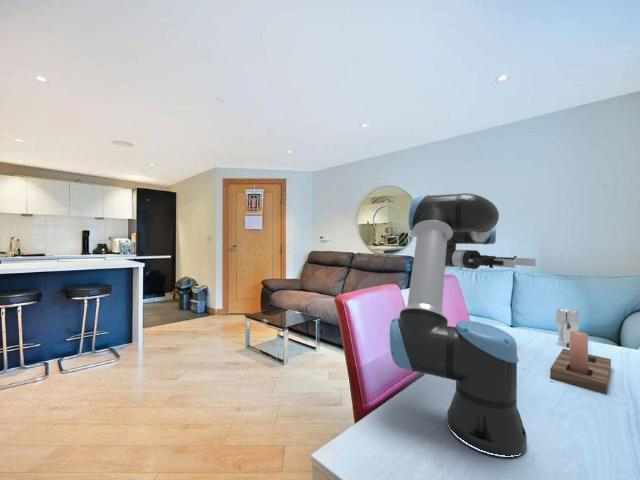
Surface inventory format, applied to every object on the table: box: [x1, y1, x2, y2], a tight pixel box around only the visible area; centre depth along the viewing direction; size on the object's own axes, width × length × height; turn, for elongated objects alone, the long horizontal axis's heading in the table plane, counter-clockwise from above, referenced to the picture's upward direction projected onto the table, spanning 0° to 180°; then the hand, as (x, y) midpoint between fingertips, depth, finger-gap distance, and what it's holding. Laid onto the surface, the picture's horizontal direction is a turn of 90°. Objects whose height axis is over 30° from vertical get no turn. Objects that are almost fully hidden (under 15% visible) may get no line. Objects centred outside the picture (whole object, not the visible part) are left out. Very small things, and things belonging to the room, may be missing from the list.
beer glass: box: [555, 308, 580, 349], centre depth 113 cm, size 7×7×15 cm
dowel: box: [569, 330, 589, 375], centre depth 85 cm, size 4×4×14 cm
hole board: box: [549, 348, 612, 396], centre depth 89 cm, size 24×12×4 cm, turn 132°
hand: (525, 263), depth 97 cm, fingers open, 13 cm apart
